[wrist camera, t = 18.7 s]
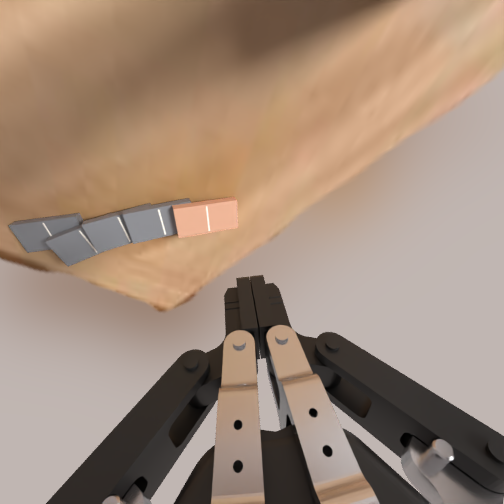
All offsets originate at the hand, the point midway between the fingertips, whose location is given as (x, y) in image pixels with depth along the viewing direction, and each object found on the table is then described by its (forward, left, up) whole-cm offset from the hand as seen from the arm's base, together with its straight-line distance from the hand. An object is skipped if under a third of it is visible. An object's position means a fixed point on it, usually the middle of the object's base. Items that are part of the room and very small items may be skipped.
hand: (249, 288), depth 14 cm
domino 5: (-1, +8, -28) cm, 29 cm away
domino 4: (+7, +8, -28) cm, 30 cm away
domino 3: (+13, +8, -28) cm, 32 cm away
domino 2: (+19, +9, -28) cm, 35 cm away
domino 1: (+24, +8, -28) cm, 38 cm away
